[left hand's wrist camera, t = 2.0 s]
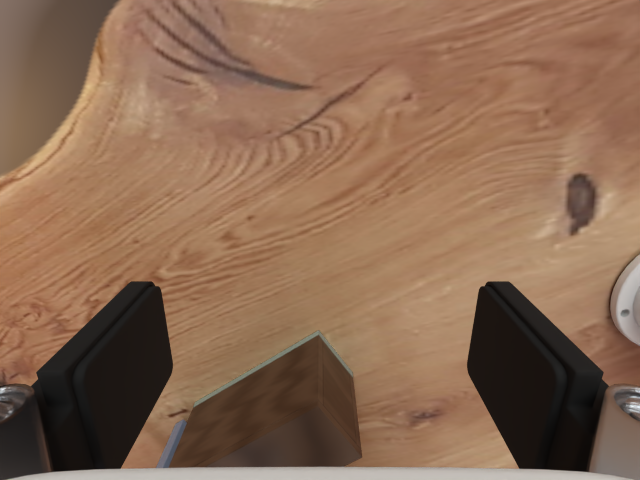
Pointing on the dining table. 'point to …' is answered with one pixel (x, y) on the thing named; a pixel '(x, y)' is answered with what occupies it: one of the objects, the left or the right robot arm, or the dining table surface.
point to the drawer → (172, 445)
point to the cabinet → (278, 415)
